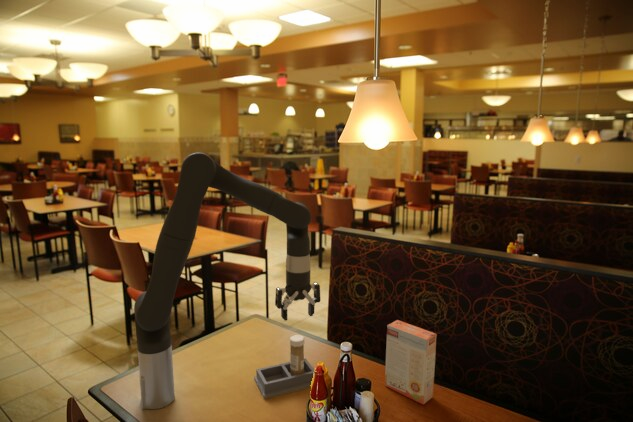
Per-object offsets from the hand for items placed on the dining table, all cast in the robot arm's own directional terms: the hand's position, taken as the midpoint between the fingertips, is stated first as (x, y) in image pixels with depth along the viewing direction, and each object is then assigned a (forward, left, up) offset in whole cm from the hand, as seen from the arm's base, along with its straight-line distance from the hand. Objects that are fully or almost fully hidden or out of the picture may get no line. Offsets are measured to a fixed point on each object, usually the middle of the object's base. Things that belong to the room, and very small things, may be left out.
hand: (298, 317), depth 132 cm
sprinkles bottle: (0, 0, -21) cm, 21 cm away
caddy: (-4, 0, -21) cm, 22 cm away
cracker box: (+29, -19, -22) cm, 41 cm away
